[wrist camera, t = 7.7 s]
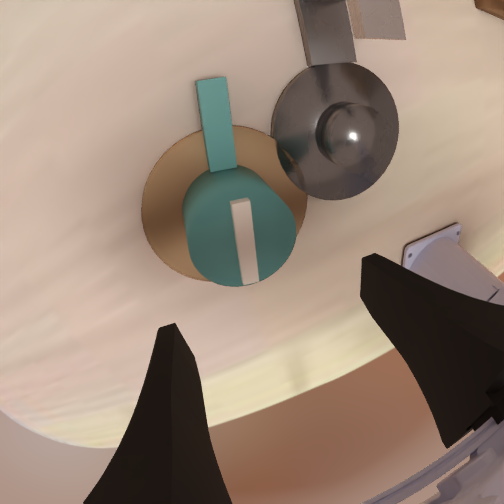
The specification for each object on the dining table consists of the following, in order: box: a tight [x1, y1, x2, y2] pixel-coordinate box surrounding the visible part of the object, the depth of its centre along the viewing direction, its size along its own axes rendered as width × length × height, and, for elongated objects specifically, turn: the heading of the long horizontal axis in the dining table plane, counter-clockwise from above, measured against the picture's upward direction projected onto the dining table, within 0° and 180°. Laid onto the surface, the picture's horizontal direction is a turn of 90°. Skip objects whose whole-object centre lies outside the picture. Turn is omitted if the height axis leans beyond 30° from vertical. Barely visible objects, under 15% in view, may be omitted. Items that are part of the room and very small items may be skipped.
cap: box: [182, 77, 296, 287], centre depth 14 cm, size 10×5×4 cm, turn 5°
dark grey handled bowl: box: [271, 0, 406, 200], centre depth 13 cm, size 14×9×6 cm, turn 11°
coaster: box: [141, 126, 307, 282], centre depth 18 cm, size 10×10×1 cm
